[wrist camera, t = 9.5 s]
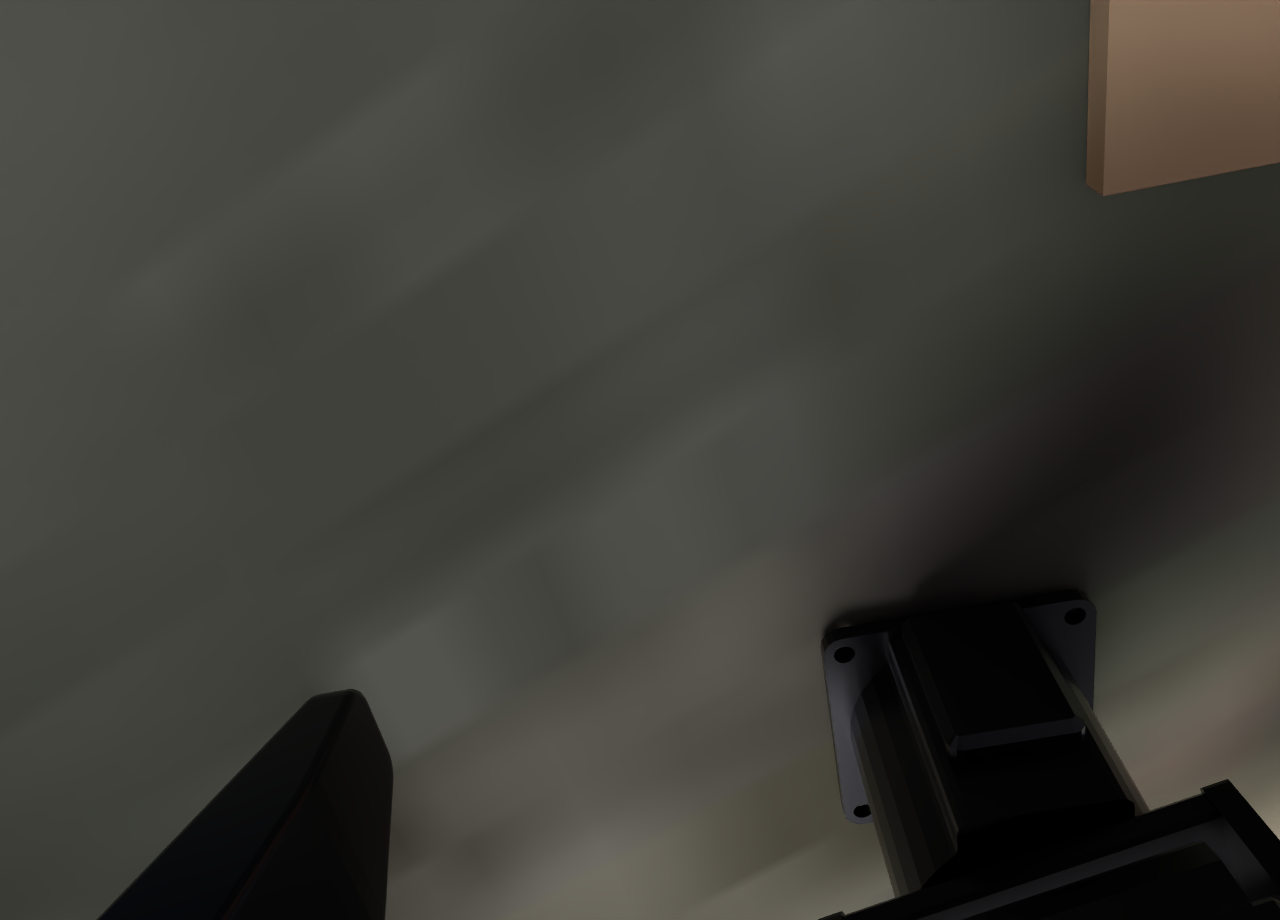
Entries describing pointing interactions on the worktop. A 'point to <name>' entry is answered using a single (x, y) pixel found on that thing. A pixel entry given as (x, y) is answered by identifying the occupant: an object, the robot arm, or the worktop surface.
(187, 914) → the robot arm
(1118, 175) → the flat square plate
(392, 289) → the worktop surface
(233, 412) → the worktop surface
